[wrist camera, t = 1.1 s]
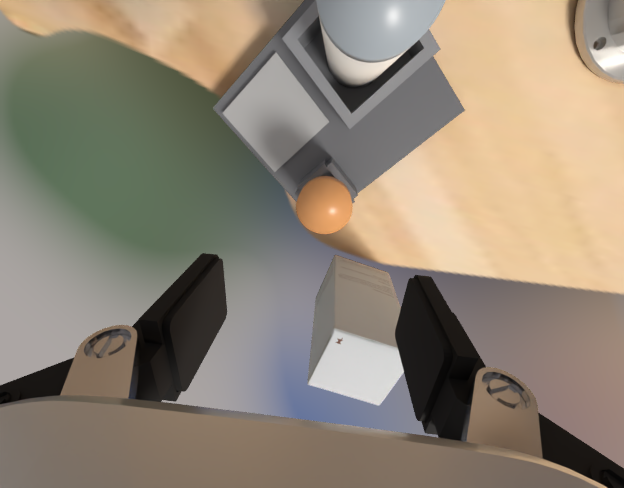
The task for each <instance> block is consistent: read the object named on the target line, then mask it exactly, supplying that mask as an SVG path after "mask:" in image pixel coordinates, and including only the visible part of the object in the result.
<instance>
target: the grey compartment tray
mask: <svg viewBox="0 0 624 488" xmlns="http://www.w3.org/2000/svg"><path fill="white" fill-rule="evenodd" d="M439 50H440V47H439V46H438V44H437V42H436V41H435V39H434V37H433V35H432V34H431V32H430V30H429V29H428V31H427V32H426V33H425V34H424V35H423V36H422V37H421V38H420V39H419V40H418V41H417V42H416V43H415V44H414V45H412V46H411V47H410V48H409V49H408V50H407V51H406V52H405V53H404V54H403V55H401V56H400V57H399V58H398V59H397V60H396V61H395V62H394V63H393V64H392V65H390V66H389V67H388V68H387V69H386V70H385V71H384V72H383V73H382V74H381V75H379V76H378V77H377V78H376V79H375V80H374V81H373V82H371V83H370V84H368V85H366V86H364V87H361V88H349V87H346V86H344V85H342V84H340V83H339V82H338V81H337V80H336V79H335V78H334V77H333V75H332V74H331V72H330V69H329V66H328V62H327V57H326V51H325V46H324V41H323V35H322V30H321V24H320V19H319V13H318V8H317V3H316V0H305V1H304V2H303V3H302V4H301V5H300V6H299V8H298V9H297V10H296V11H295V12H294V13H293V15H292V16H291V17H290V18H289V19H288V20H287V22H286V23H285V24H284V25H283V26H282V28H281V29H280V30H279V31H278V32H277V33H276V35H275V36H274V37H273V38H272V39H271V40H270V42H269V43H268V44H267V45H266V46H265V47H264V49H263V50H262V51H261V52H260V53H259V54H258V56H257V57H256V58H255V59H254V60H253V61H252V63H251V64H250V65H249V66H248V67H247V68H246V70H245V71H244V72H243V73H242V74H241V75H240V77H239V78H238V79H237V80H236V81H235V82H234V84H233V85H232V86H231V87H230V88H229V90H228V91H227V92H226V93H225V94H224V95H223V97H222V98H221V99H220V100H219V101H218V103H217V104H216V105H215V106H214V107H213V109H214V110H215V111H216V112H217V114H218V115H219V116H220V117H221V118H222V119H223V120H224V122H225V123H226V124H227V125H228V126H229V127H230V128H231V129H232V130H233V132H234V133H235V134H236V135H237V136H238V137H239V138H240V139H241V140H242V141H243V143H244V144H245V145H246V146H247V147H248V148H249V149H250V150H251V151H252V153H253V154H254V155H255V156H256V157H257V158H258V159H259V161H260V162H261V163H262V164H263V165H264V166H265V167H266V168H267V169H268V171H269V172H270V173H271V174H272V175H273V176H274V177H275V179H276V180H277V181H278V182H279V183H280V184H281V185H282V186H283V187H284V189H285V190H286V191H287V192H288V193H289V194H290V195H291V196H292V198H293V199H294V200H295V201H296V202H297V199H298V196H299V194H300V192H301V190H302V188H303V187H304V185H305V184H306V183H307V182H309V181H310V180H312V179H313V178H316V177H320V176H330V177H334V178H336V179H338V180H340V181H341V182H343V183H344V184H345V185H346V187H347V188H348V190H349V192H350V195H351V200H352V203H354V202H355V201H354V198H355V197H356V196H358V193H359V192H360V191H361V190H362V189H364V188H365V187H366V186H368V185H369V184H370V183H371V182H373V181H374V180H375V179H377V178H378V177H379V176H380V175H382V174H383V173H384V172H386V171H387V170H388V169H390V168H391V167H392V166H393V165H395V164H396V163H397V162H399V161H400V160H401V159H402V158H404V157H405V156H406V155H408V154H409V153H410V152H411V151H413V150H414V149H415V148H417V147H418V146H419V145H421V144H422V143H423V142H424V141H426V140H427V139H428V138H430V137H431V136H432V135H433V134H435V133H436V132H437V131H439V130H440V129H441V128H442V127H444V126H445V125H446V124H448V123H449V122H450V121H452V120H453V119H454V118H455V117H457V116H458V115H459V114H461V113H462V112H463V111H464V108H463V106H462V105H461V103H460V101H459V100H458V98H457V96H456V94H455V93H454V91H453V89H452V88H451V86H450V84H449V83H448V81H447V79H446V77H445V76H444V74H443V72H442V71H441V69H440V67H439V66H438V64H437V62H436V60H435V59H434V57H433V55H434V54H436V53H437V52H438V51H439Z"/></svg>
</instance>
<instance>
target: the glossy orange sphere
mask: <svg viewBox="0 0 624 488" xmlns="http://www.w3.org/2000/svg"><path fill="white" fill-rule="evenodd" d="M296 210H297V215H298V217H299V219H300V221H301V223H302V224H303V225H304V226H305V227H306V228H308V229H309V230H311V231H313V232H315V233H319V234H330V233H334V232H336V231H338V230H340V229H342V228H343V227H344V226H345V225H346V224H347V222H348V221H349V219H350V217H351V214H352V200H351V195H350V192H349V190H348V188H347V187H346V185H345V184H344V183H343V182H341V181H340V180H338V179H336V178H334V177H330V176H320V177H316V178H313V179H312V180H310V181H309V182H307V183H306V184H305V185H304V187H303V188H302V190H301V192H300V194H299V196H298V199H297V203H296Z"/></svg>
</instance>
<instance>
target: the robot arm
mask: <svg viewBox="0 0 624 488" xmlns="http://www.w3.org/2000/svg"><path fill="white" fill-rule="evenodd" d="M574 28H575V37H576V44H577V47H578V50H579V53H580V56H581V58H582V60H583V61H584V62H585V64H586V65H587V67H588V68H589V69H590V70H591V71H592V72H594V73H595V74H596V75H597V76H598V77H601V78H603V79H605V80H608V81H610V82H615V83H621V84H624V0H578V3H577V7H576V15H575V27H574ZM226 315H227V305H226V293H225V282H224V271H223V261H222V259H219V257H218V256H217V255H214V254H204V253H203V254H201V255H200V256H199V257H198V258H197V260H195V262H193V264H192V265H191V266H190V267H189V268H188V269H187V270H186V271H185V272H184V273H183V274H182V275H181V276H180V277H179V278H178V279H177V280H176V281H175V282H174V283H173V284H172V285H171V286H170V287H169V288H168V289H167V290H166V291H165V293H164V294H163V295H162V296H161V297H160V298H159V299H158V300H157V301H156V302H155V303H154V304H153V305H152V306H151V307H150V308H149V309H148V310H147V311H146V312H145V313H144V314H143V315H142V316H141V317H140V318H139V320H138V321H137V322H136V323H135V324H134V325H133V326H132V327H131V326H128V325H116V326H111V327H108V328H104V329H102V330H99V331H97V332H95V333H94V334H92V335H90V336H89V337H87V338H86V339H85V340H84V341H83V342H82V343H81V345H80V346H79V348H78V349H77V352H76V355H75V357H74V358H72V359H69V360H66V361H64V362H61V363H58V364H56V365H53V366H51V367H48V368H45V369H43V370H40V371H37V372H35V373H32V374H29V375H27V376H24V377H22V378H19V379H16V380H13V381H11V382H8V383H6V384H3V385H0V488H624V468H622V467H620V466H619V465H617V464H616V463H614V462H613V461H611V460H610V459H608V458H607V457H605V456H604V455H602V454H601V453H599V452H598V451H596V450H595V449H593V448H592V447H590V446H588V445H587V444H585V443H584V442H582V441H581V440H579V439H578V438H576V437H575V436H573V435H571V434H570V433H569V432H567V431H566V430H564V429H563V428H561V427H559V426H558V425H556V424H555V423H553V422H552V421H550V420H549V419H547V418H546V417H544V416H543V415H541V414H540V413H538V405H537V402H536V398H535V397H534V395H533V393H532V392H531V390H530V389H529V388H528V387H527V386H526V385H525V384H524V383H523V382H521V381H520V380H519V379H518V378H516V377H515V376H513V375H511V374H509V373H508V372H506V371H503V370H500V369H497V368H491V367H486V366H485V365H484V363H483V361H482V359H481V358H480V356H479V354H478V353H477V351H476V349H475V348H474V346H473V344H472V343H471V341H470V339H469V337H468V336H467V334H466V332H465V331H464V329H463V327H462V326H461V324H460V322H459V321H458V319H457V317H456V316H455V314H454V313H452V312H451V310H450V308H449V307H448V305H447V303H446V301H445V300H444V299H443V296H442V295H441V293H440V291H439V290H438V288H437V286H436V284H435V283H434V281H433V279H432V278H431V277H429V276H419V275H415V276H414V278H410V279H409V281H408V284H407V288H406V292H405V295H404V299H403V303H402V306H401V310H400V314H399V318H398V321H397V325H396V329H395V339H396V343H397V347H398V351H399V355H400V358H401V362H402V366H403V370H404V374H405V377H406V381H407V385H408V389H409V393H410V397H411V400H412V404H413V408H414V412H415V416H416V418H417V420H418V421H422V424H423V427H424V431H425V433H428V434H437V435H438V437H439V438H437V437H430V436H424V435H416V434H409V433H401V432H393V431H386V430H378V429H371V428H364V427H356V426H349V425H341V424H333V423H326V422H317V421H309V420H301V419H294V418H286V417H278V416H271V415H263V414H255V413H247V412H239V411H230V410H222V409H214V408H206V407H198V406H189V405H181V404H172V403H164V402H161V401H162V400H168V401H176V400H177V399H178V397H179V395H180V393H181V391H186V390H187V388H188V387H189V385H190V383H191V381H192V379H193V378H194V376H195V374H196V372H197V370H198V369H199V367H200V365H201V363H202V361H203V359H204V357H205V356H206V354H207V352H208V350H209V348H210V346H211V344H212V343H213V341H214V339H215V337H216V335H217V333H218V332H219V330H220V328H221V326H222V324H223V322H224V320H225V319H226Z"/></svg>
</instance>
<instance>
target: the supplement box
mask: <svg viewBox="0 0 624 488" xmlns="http://www.w3.org/2000/svg"><path fill="white" fill-rule="evenodd" d="M400 310H401V308H400V305H399V302H398V299H397V296H396V293H395V290H394V287H393V284H392V282H391V278H390V276H389V273H388V272H385V271H382V270H379V269H376V268H373V267H370V266H367V265H364V264H361V263H358V262H355V261H352V260H350V259H346V258H343V257H341V256H338V255H335V256H334V258H333V260H332V262H331V265H330V267H329V269H328V271H327V274H326V276H325V278H324V281H323V283H322V285H321V287H320V290H319V292H318V294H317V297H316V301H315V311H314V322H313V332H312V341H311V351H310V363H309V374H308V385H311V386H315V387H318V388H322V389H325V390H328V391H332V392H335V393H338V394H342V395H345V396H349V397H352V398H355V399H359V400H362V401H365V402H368V403H372V404H375V405H378V406H379V405H380V404H381V402H382V401H383V400H384V399H385V397H386V396H387V394H388V393H389V392H390V390H391V389H392V388H393V386H394V385H395V384H396V382H397V381H398V379H399V378H400V377H401V375H402V374H403V373H404V370H403V366H402V362H401V358H400V355H399V351H398V347H397V343H396V339H395V329H396V325H397V321H398V318H399V314H400Z"/></svg>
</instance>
